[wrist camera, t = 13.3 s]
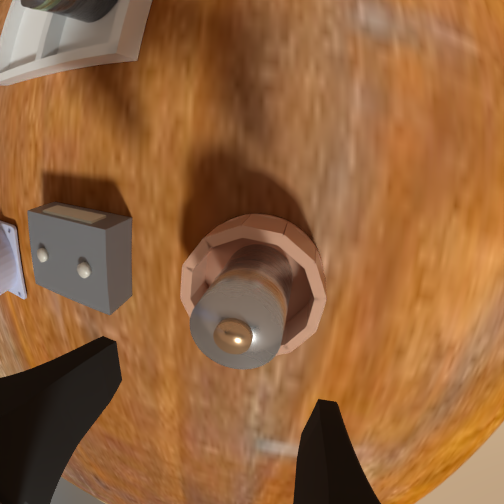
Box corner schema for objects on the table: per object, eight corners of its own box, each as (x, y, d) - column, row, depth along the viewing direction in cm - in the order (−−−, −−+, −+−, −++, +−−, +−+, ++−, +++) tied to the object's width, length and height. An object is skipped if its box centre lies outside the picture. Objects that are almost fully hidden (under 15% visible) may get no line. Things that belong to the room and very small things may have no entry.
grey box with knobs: (59, 269, 22) (32, 285, 19) (54, 199, 20) (23, 209, 17) (132, 295, 21) (106, 318, 18) (132, 215, 19) (101, 229, 16)
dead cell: (224, 299, 19) (187, 363, 13) (228, 239, 18) (185, 287, 12) (288, 310, 18) (274, 382, 12) (297, 249, 17) (287, 306, 11)
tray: (8, 85, 17) (-11, 85, 15) (35, -12, 13) (19, -17, 11) (137, 60, 15) (116, 53, 13) (173, -61, 11) (159, -76, 9)
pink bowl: (194, 313, 20) (178, 337, 18) (205, 201, 18) (185, 212, 15) (306, 340, 19) (304, 369, 17) (338, 229, 17) (342, 246, 14)
